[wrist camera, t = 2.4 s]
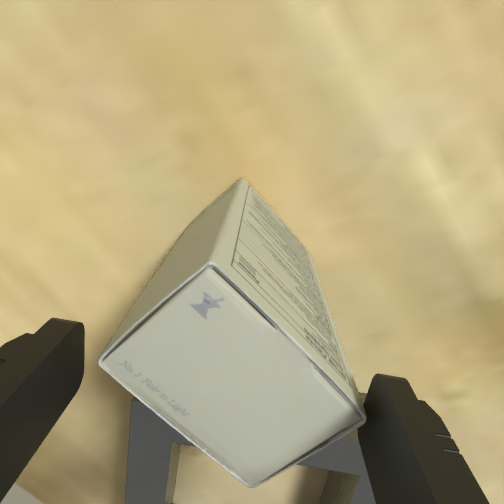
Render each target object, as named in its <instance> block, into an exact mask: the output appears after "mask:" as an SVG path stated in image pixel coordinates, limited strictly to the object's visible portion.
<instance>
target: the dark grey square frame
mask: <svg viewBox="0 0 504 504" xmlns="http://www.w3.org/2000/svg"><path fill="white" fill-rule="evenodd" d="M366 395H367V394H364V393H359V396H360V399H361V401H362V404H364V401H365V398H366ZM181 444H184V445H190V446H196V445H194V444H193V443H192V442H190V441H188V440H187V439H186V438H185V437H184V436H183V435H182V434H180V433H179V432H178V431H177V430H175V429H174V428H172V427H171V426H170V425H169V424H168V423H167V422H165V421H164V420H163V419H162V418H160V417H159V416H158V415H157V414H156V413H155V412H153V411H152V410H151V409H150V408H148V407H147V406H146V405H145V404H143V403H142V402H141V401H140V400H139V399H138V398H136V397H135V396H134V397H133V399H132V405H131V419H130V433H129V447H128V462H127V476H126V490H125V504H172V503H173V496H174V489H175V482H176V474H177V467H178V460H179V453H180V445H181ZM297 464H298V465H303V466H309V467H315V468H321V469H326V470H331V471H330V474H329V477H328V480H327V482H326V485H325V488H324V491H323V494H322V497H321V500H320V503H319V504H376V502H375V498H374V495H373V491H372V487H371V484H370V480H369V477H368V473H367V469H366V466H365V462H364V458H363V455H362V451H361V447H360V444H359V440H358V428H356V429H355V430H353V431H352V432H350V433H348V434H347V435H345V436H343V437H341V438H339V439H338V440H336V441H335V442H333V443H331V444H330V445H328V446H326V447H325V448H323V449H321V450H320V451H318V452H316V453H314V454H312V455H311V456H309V457H307V458H306V459H304V460H302V461H300V462H299V463H297Z"/></svg>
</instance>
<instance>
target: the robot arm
mask: <svg viewBox="0 0 504 504" xmlns="http://www.w3.org/2000/svg"><path fill="white" fill-rule="evenodd" d="M84 339H85V330H84V325H83V323H81V322H76V321H70V320H64V319H58V318H51V319H50V320H48V321H47V322H46V323H45V324H44V325H43V326H42V327H41V328H40V329H39V330H38V331H37V332H36V333H34V334H29V333H26V334H24V335H21V336H19V337H17V338H15V339H13V340H11V341H9V342H7V343H5V344H4V345H3V346H2V347H0V503H1V501H2V500H3V498H4V497H5V495H6V494H7V492H8V491H9V490H10V488H11V487H12V485H13V484H14V482H15V481H16V479H17V478H18V477H19V475H20V474H21V472H22V471H23V469H24V468H25V466H26V465H27V464H28V462H29V461H30V459H31V458H32V456H33V455H34V453H35V452H36V451H37V449H38V448H39V446H40V445H41V443H42V442H43V440H44V439H45V438H46V436H47V435H48V433H49V432H50V430H51V429H52V427H53V426H54V424H55V423H56V422H57V420H58V419H59V417H60V416H61V414H62V413H63V411H64V410H65V409H66V407H67V406H68V404H69V403H70V401H71V400H72V398H73V397H74V396H75V394H76V393H77V391H78V389H79V387H80V384H81V382H82V378H83V374H84ZM363 407H364V410H365V413H366V416H367V417H366V422H365V423H364V424H363V425H362V426H360V427H358V440H359V444H360V447H361V451H362V455H363V458H364V462H365V466H366V469H367V473H368V477H369V480H370V484H371V487H372V491H373V495H374V498H375V502H376V504H489V502H488V500H487V498H486V497H485V495H484V493H483V491H482V490H481V488H480V486H479V484H478V483H477V481H476V479H475V477H474V475H473V474H472V472H471V470H470V468H469V467H468V465H467V463H466V461H465V460H464V458H463V456H462V455H461V454H459V449H458V447H457V446H456V444H455V442H454V440H453V439H451V435H450V433H449V431H448V430H447V428H446V426H445V424H444V423H443V421H442V419H441V417H440V416H439V415H438V414H437V413H436V412H435V411H434V410H433V409H432V408H431V407H430V406H429V405H428V404H427V403H426V402H425V401H421V400H418V399H417V397H416V395H415V394H414V392H413V390H412V388H411V386H410V384H409V382H408V381H407V380H406V379H405V378H401V377H395V376H389V375H383V374H376V375H375V376H374V377H373V379H372V381H371V384H370V387H369V390H368V393H367V395H366V398H365V401H364V404H363Z"/></svg>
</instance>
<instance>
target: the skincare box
mask: <svg viewBox="0 0 504 504" xmlns="http://www.w3.org/2000/svg"><path fill="white" fill-rule="evenodd" d="M98 364H99V365H100V367H101V368H102V369H103V370H105V371H106V372H107V373H108V374H110V375H111V376H112V377H113V378H114V379H115V380H116V381H117V382H119V383H120V384H121V385H122V386H123V387H124V388H125V389H126V390H128V391H129V392H130V393H131V394H132V395H134V396H135V397H136V398H138V399H139V400H140V401H141V402H142V403H143V404H145V405H146V406H147V407H148V408H150V409H151V410H152V411H153V412H155V413H156V414H157V415H158V416H159V417H160V418H162V419H163V420H164V421H165V422H167V423H168V424H169V425H170V426H171V427H172V428H174V429H175V430H177V431H178V432H179V433H180V434H182V435H183V436H184V437H185V438H186V439H187V440H188V441H190V442H192V443H193V444H194V445H196V447H198V448H199V449H200V450H201V451H203V452H204V453H205V454H206V455H208V456H209V457H210V458H211V459H213V460H214V461H215V462H217V463H218V464H219V465H220V466H222V467H223V468H224V469H225V470H227V471H228V472H229V473H230V474H232V475H233V476H234V477H236V478H237V479H238V480H239V481H241V482H242V483H243V484H244V485H245V486H247V487H249V488H254V487H257V486H258V485H260V484H262V483H264V482H266V481H268V480H269V479H271V478H272V477H274V476H276V475H277V474H279V473H281V472H283V471H285V470H286V469H288V468H290V467H292V466H294V465H295V464H297V463H299V462H300V461H302V460H304V459H306V458H307V457H309V456H311V455H312V454H314V453H316V452H318V451H320V450H321V449H323V448H325V447H326V446H328V445H330V444H331V443H333V442H335V441H336V440H338V439H339V438H341V437H343V436H345V435H347V434H348V433H350V432H352V431H353V430H355V429H356V428H358V427H360V426H362V425H363V424H364V423H365V422H366V417H367V416H366V413H365V410H364V407H363V404H362V401H361V399H360V396H359V393H358V390H357V387H356V384H355V381H354V378H353V375H352V372H351V369H350V366H349V364H348V361H347V358H346V355H345V352H344V349H343V347H342V344H341V341H340V338H339V335H338V332H337V329H336V326H335V323H334V320H333V317H332V314H331V311H330V308H329V305H328V302H327V300H326V297H325V294H324V291H323V288H322V285H321V282H320V279H319V276H318V274H317V271H316V268H315V265H314V262H313V259H312V256H311V254H310V253H309V251H308V250H307V249H306V248H305V247H304V245H303V244H302V243H301V242H300V241H299V239H298V238H297V237H296V236H295V235H294V234H293V232H292V231H291V230H290V229H289V228H288V227H287V225H286V224H285V223H284V222H283V221H282V220H281V218H280V217H279V216H278V215H277V214H276V213H275V212H274V211H273V209H272V208H271V207H270V206H269V205H268V204H267V203H266V202H265V201H264V199H263V198H262V197H261V196H260V195H259V194H258V193H257V192H256V191H255V190H254V189H253V187H252V186H251V185H250V184H249V183H248V182H247V181H246V180H245V179H244V178H240V179H238V180H237V181H236V182H235V183H234V184H233V185H231V186H230V187H229V188H228V189H227V190H226V191H225V192H223V193H222V194H221V195H220V196H219V197H218V198H217V199H216V200H214V201H213V202H212V203H211V204H210V205H209V206H208V207H207V208H206V209H205V210H203V211H202V212H201V213H200V214H199V215H198V216H197V217H196V218H195V219H194V220H193V221H192V222H191V223H190V224H189V225H188V226H187V228H186V229H185V231H184V232H183V234H182V235H181V237H180V238H179V239H178V241H177V242H176V244H175V245H174V247H173V248H172V250H171V251H170V253H169V254H168V255H167V257H166V258H165V260H164V261H163V263H162V264H161V265H160V267H159V269H158V270H157V271H156V273H155V274H154V276H153V277H152V279H151V280H150V281H149V283H148V284H147V286H146V287H145V289H144V290H143V292H142V293H141V295H140V296H139V298H138V299H137V301H136V302H135V304H134V305H133V307H132V308H131V310H130V311H129V313H128V314H127V316H126V317H125V318H124V320H123V321H122V323H121V325H120V326H119V328H118V329H117V331H116V332H115V334H114V335H113V337H112V338H111V340H110V341H109V343H108V344H107V346H106V347H105V349H104V350H103V352H102V353H101V355H100V357H99V358H98Z"/></svg>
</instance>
